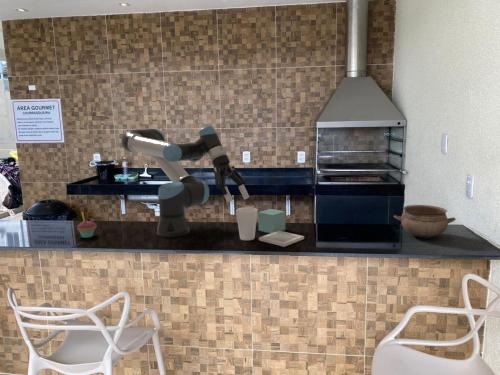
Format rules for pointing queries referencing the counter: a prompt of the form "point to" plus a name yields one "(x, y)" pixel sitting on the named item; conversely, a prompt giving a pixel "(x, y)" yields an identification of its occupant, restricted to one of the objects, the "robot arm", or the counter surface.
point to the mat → (281, 238)
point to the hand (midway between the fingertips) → (238, 199)
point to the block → (271, 220)
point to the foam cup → (247, 222)
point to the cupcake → (86, 228)
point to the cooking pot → (424, 220)
